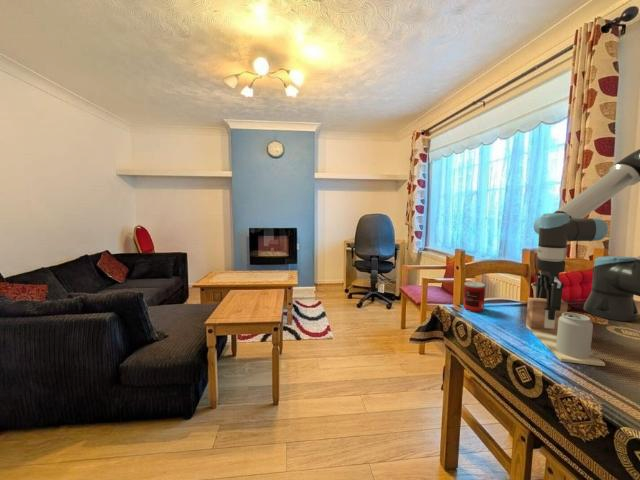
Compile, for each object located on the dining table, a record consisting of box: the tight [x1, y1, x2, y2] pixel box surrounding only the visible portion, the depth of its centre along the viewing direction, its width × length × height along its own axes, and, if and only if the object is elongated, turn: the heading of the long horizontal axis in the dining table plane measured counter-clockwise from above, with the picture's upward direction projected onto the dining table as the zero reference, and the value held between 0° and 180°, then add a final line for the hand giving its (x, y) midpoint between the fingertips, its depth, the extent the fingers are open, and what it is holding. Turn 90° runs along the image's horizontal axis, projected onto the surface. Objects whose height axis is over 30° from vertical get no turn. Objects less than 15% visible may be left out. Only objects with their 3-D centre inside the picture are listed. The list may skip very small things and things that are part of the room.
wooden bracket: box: [525, 297, 606, 367], centre depth 90 cm, size 24×10×11 cm, turn 164°
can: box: [556, 311, 594, 359], centre depth 84 cm, size 8×8×12 cm
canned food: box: [463, 281, 486, 313], centre depth 121 cm, size 8×8×11 cm
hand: (545, 324), depth 100 cm, fingers open, 4 cm apart
